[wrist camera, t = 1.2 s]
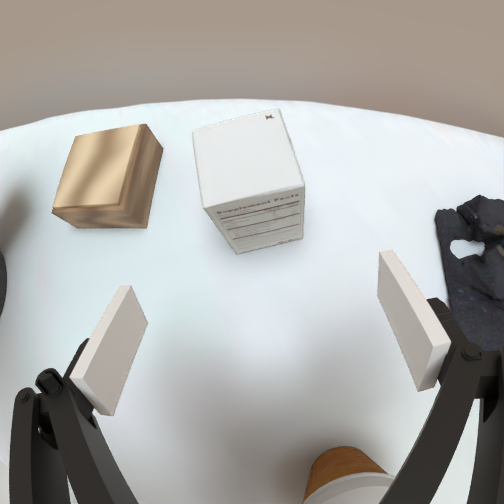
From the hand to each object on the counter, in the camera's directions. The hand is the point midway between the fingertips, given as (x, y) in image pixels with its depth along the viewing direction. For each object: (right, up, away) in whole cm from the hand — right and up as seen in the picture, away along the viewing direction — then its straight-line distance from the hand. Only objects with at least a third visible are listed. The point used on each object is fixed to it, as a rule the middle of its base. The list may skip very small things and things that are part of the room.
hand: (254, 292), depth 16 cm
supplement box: (+1, +6, +18) cm, 19 cm away
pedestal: (-17, +10, +22) cm, 30 cm away
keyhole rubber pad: (+27, -3, +12) cm, 30 cm away
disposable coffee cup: (+9, -21, +10) cm, 24 cm away
